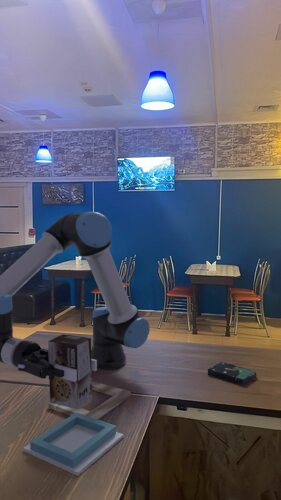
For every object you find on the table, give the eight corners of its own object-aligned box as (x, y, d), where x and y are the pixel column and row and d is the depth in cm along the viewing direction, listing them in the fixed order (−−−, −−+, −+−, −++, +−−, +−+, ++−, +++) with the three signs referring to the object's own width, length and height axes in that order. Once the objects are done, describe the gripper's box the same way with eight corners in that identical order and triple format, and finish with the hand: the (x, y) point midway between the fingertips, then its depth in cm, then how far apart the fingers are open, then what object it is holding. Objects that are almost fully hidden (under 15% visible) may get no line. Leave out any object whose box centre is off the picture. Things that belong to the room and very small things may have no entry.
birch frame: (48, 408, 115) (48, 403, 115) (90, 384, 132) (90, 380, 132) (92, 423, 106) (91, 418, 106) (130, 396, 123) (130, 391, 123)
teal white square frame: (23, 450, 93) (23, 440, 93) (72, 419, 108) (72, 409, 108) (78, 476, 84) (78, 464, 84) (123, 437, 99) (123, 427, 99)
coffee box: (93, 399, 96) (92, 337, 95) (78, 410, 90) (77, 345, 89) (64, 392, 100) (63, 333, 99) (48, 402, 94) (47, 340, 93)
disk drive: (207, 376, 140) (243, 387, 130) (207, 369, 140) (243, 379, 130) (221, 368, 148) (256, 378, 138) (221, 361, 148) (256, 370, 138)
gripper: (48, 356, 112) (110, 372, 100) (-9, 379, 95) (57, 401, 83) (48, 332, 112) (110, 344, 100) (-9, 350, 95) (57, 368, 83)
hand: (86, 370), depth 92 cm, fingers closed on coffee box, 7 cm apart
